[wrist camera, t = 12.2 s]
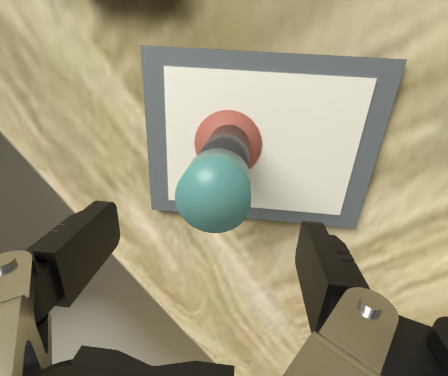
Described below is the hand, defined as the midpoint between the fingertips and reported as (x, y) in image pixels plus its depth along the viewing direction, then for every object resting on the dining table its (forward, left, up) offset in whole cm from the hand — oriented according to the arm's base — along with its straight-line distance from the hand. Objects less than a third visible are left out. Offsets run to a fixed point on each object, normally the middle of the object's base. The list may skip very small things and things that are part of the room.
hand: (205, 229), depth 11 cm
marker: (0, 0, -15) cm, 15 cm away
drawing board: (-3, 0, -16) cm, 16 cm away
